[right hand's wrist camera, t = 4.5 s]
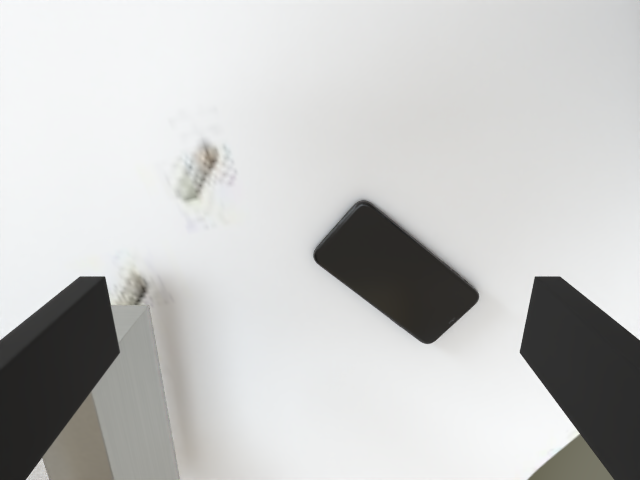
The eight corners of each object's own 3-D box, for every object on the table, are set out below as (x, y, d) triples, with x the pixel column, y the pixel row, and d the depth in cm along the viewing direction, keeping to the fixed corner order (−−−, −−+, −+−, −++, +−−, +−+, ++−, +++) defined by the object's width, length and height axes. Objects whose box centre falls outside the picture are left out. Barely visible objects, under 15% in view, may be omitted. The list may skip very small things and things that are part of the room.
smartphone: (308, 254, 41) (426, 344, 44) (308, 258, 40) (428, 349, 43) (362, 194, 38) (481, 293, 42) (362, 196, 37) (485, 297, 41)
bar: (95, 304, 34) (16, 381, 26) (149, 304, 34) (88, 381, 26) (143, 516, 43) (97, 627, 35) (186, 516, 43) (151, 627, 34)
